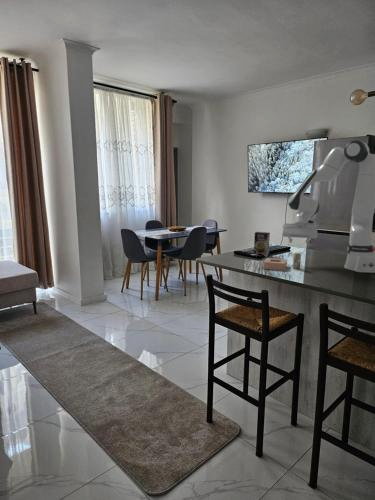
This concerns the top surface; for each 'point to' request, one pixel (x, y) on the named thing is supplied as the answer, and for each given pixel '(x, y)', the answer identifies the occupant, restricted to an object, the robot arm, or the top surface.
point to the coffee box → (261, 243)
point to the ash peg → (296, 261)
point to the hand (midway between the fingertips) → (298, 242)
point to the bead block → (275, 264)
